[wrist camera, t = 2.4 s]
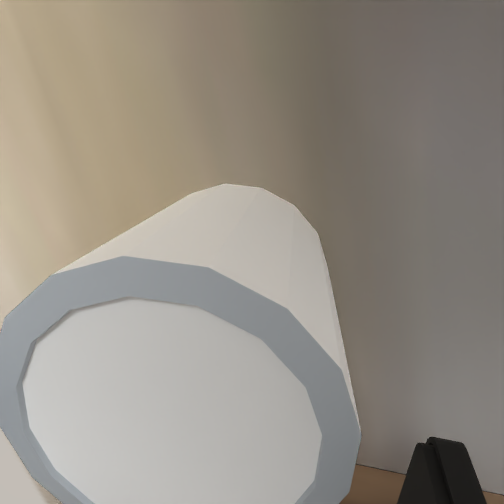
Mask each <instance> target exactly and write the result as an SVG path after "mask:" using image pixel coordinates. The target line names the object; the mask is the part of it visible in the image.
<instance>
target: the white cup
mask: <svg viewBox="0 0 504 504" xmlns="http://www.w3.org/2000/svg"><path fill="white" fill-rule="evenodd" d="M0 428H1V429H2V431H3V432H4V434H5V435H6V437H7V438H8V440H9V442H10V443H11V445H12V446H13V448H14V449H15V451H16V453H17V454H18V456H19V457H20V459H21V460H22V462H23V464H24V465H25V467H26V468H27V470H28V471H29V473H30V474H31V476H32V477H33V478H34V479H35V480H36V481H37V482H38V483H40V484H41V485H42V486H43V487H44V488H45V489H46V490H48V491H49V492H50V493H51V494H52V495H53V496H55V497H56V498H57V499H58V500H59V501H60V502H62V503H63V504H339V503H340V502H341V501H342V499H343V498H344V497H345V496H346V495H347V494H348V493H349V491H350V487H351V482H352V478H353V473H354V468H355V464H356V459H357V455H358V450H359V446H360V441H361V436H362V434H361V429H360V424H359V419H358V414H357V409H356V404H355V399H354V394H353V389H352V384H351V379H350V374H349V370H348V365H347V360H346V355H345V350H344V345H343V340H342V335H341V330H340V325H339V320H338V315H337V310H336V305H335V301H334V296H333V291H332V286H331V281H330V276H329V271H328V266H327V263H326V259H325V256H324V252H323V249H322V246H321V242H320V239H319V235H318V233H317V232H316V230H315V229H314V228H313V227H312V226H311V224H310V223H309V222H308V221H307V220H306V218H305V217H304V216H303V215H302V214H301V212H300V211H299V210H298V209H297V208H296V206H295V205H293V204H291V203H289V202H288V201H286V200H284V199H282V198H280V197H278V196H276V195H275V194H273V193H271V192H269V191H267V190H265V189H263V188H261V187H252V186H243V185H234V184H225V183H224V184H221V185H218V186H214V187H211V188H207V189H204V190H201V191H197V192H194V193H191V194H189V195H187V196H186V197H184V198H182V199H180V200H179V201H177V202H175V203H174V204H172V205H170V206H168V207H167V208H165V209H163V210H162V211H160V212H158V213H156V214H155V215H153V216H151V217H150V218H148V219H146V220H144V221H143V222H141V223H139V224H138V225H136V226H134V227H132V228H131V229H129V230H127V231H126V232H124V233H122V234H120V235H119V236H117V237H115V238H114V239H112V240H110V241H108V242H107V243H105V244H103V245H102V246H100V247H98V248H96V249H95V250H93V251H91V252H90V253H88V254H86V255H84V256H83V257H81V258H79V259H78V260H76V261H74V262H72V263H71V264H69V265H67V266H66V267H64V268H62V269H60V270H59V271H57V272H55V273H54V274H52V275H50V276H49V277H48V278H47V279H46V280H45V281H44V282H43V283H42V284H41V285H39V286H38V287H37V288H36V289H35V290H34V291H33V292H32V293H31V294H30V295H29V296H28V297H26V298H25V299H24V300H23V301H22V302H21V303H20V304H19V305H18V306H17V307H16V308H15V309H13V310H12V311H11V312H10V313H9V314H8V315H7V316H6V317H5V319H4V322H3V326H2V329H1V332H0Z"/></svg>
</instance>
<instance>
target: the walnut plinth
mask: <svg viewBox="0 0 504 504" xmlns="http://www.w3.org/2000/svg"><path fill="white" fill-rule="evenodd" d="M405 477H406V475H404V474H399V473H394V472H389V471H385V470H380V469H375V468H370V467H366V466H361V465H356V464H355V468H354V473H353V478H352V482H351V487H350V491H349V493H348V494H347V495H346V496H345V497H344V498H343V499H342V501H341V502H340V503H339V504H397V502H398V499H399V495H400V492H401V489H402V486H403V483H404V480H405ZM482 492H483V494H484V497H485V500H486V502H487V504H504V495H499V494H494V493H489V492H485V491H482Z"/></svg>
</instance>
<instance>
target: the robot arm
mask: <svg viewBox="0 0 504 504" xmlns="http://www.w3.org/2000/svg"><path fill="white" fill-rule="evenodd" d="M397 504H487V502H486V500H485V497H484V494H483V492H482V489H481V486H480V484H479V481H478V478H477V476H476V473H475V470H474V468H473V465H472V462H471V460H470V457H469V454H468V452H467V449H466V447H465V445H464V444H463V443H461V442H456V441H451V440H446V439H441V438H436V437H429V438H428V439H427V442H426V444H425V443H417V444H416V447H415V449H414V453H413V456H412V459H411V462H410V465H409V468H408V471H407V474H406V477H405V480H404V483H403V486H402V489H401V492H400V495H399V499H398V502H397Z"/></svg>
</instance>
